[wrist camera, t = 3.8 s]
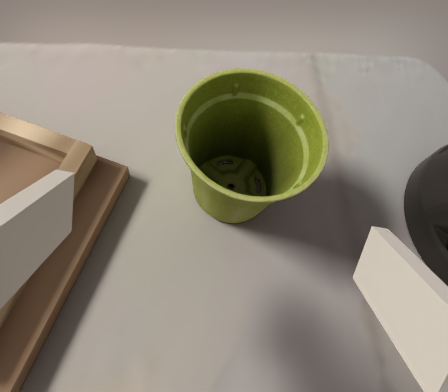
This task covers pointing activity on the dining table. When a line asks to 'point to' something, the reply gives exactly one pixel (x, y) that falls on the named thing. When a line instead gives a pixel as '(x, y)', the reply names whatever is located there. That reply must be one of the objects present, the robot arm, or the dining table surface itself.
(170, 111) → the dining table surface
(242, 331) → the dining table surface
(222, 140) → the plant pot
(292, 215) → the dining table surface
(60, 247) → the walnut pot stand
